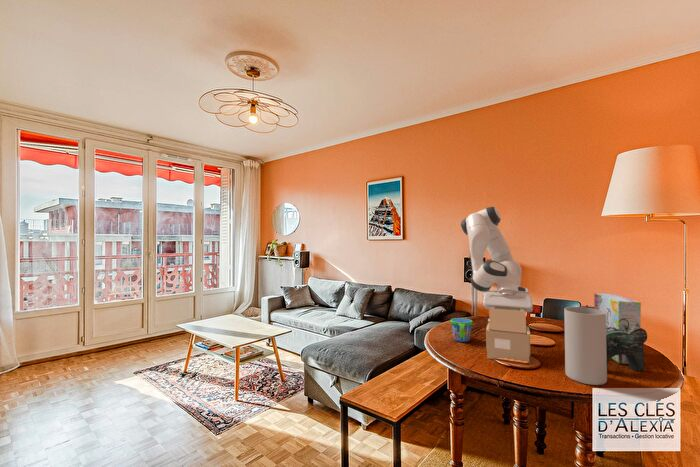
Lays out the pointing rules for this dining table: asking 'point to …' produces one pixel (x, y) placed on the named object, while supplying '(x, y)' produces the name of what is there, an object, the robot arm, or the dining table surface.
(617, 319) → the snack box
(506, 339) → the carton
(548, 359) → the dining table surface
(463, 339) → the snack cup
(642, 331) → the game controller
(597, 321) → the cylinder vase
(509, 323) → the flap
